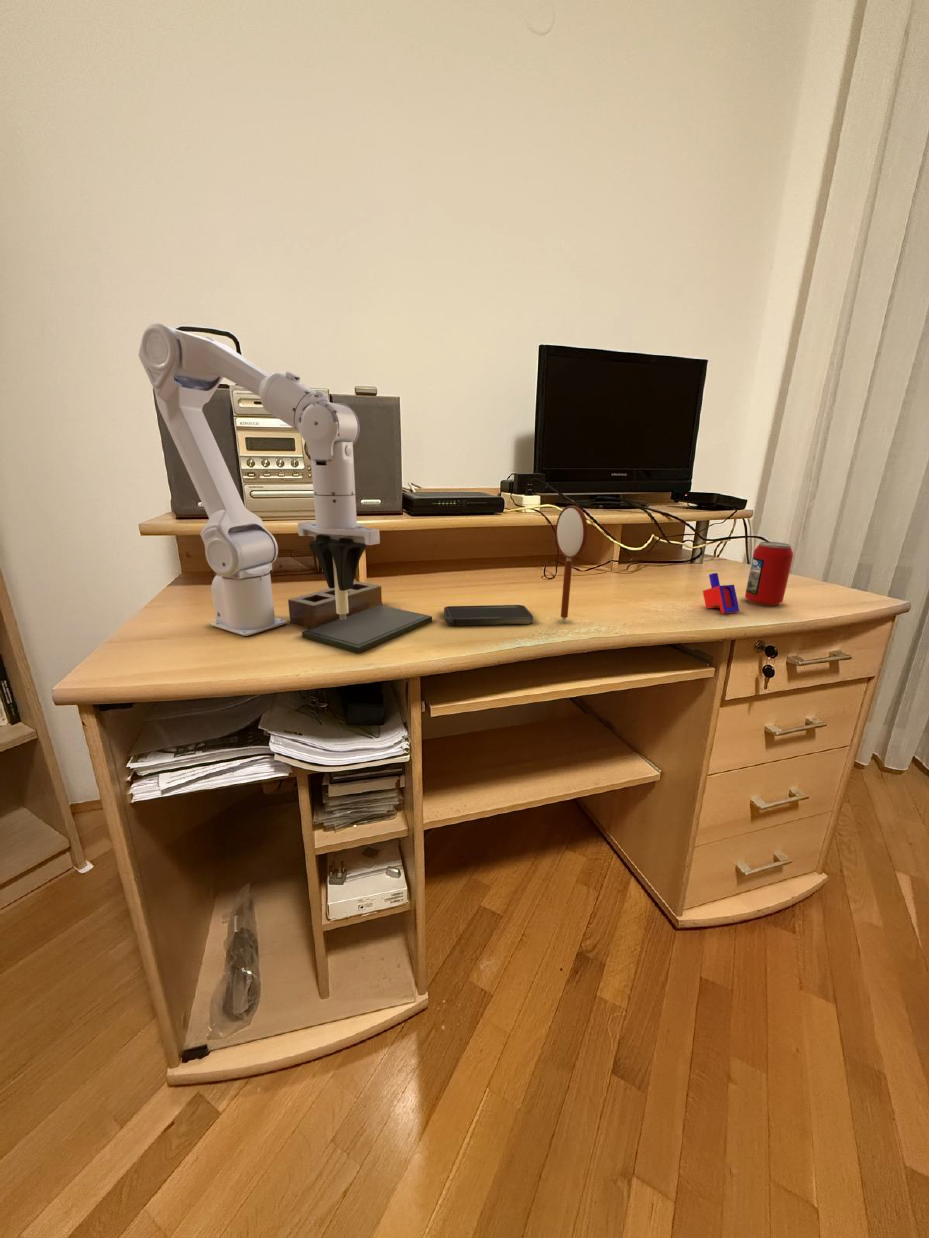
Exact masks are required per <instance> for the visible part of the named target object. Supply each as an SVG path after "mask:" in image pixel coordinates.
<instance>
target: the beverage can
mask: <svg viewBox="0 0 929 1238" xmlns="http://www.w3.org/2000/svg"><path fill="white" fill-rule="evenodd" d="M793 558H794V552H793V549H792V545H791V544H790V543H786V542H785V543H784V542H777V541H760V542H759V544H758V545H757V546H756V548H755V549H754V550H753V554H752V559H751V563H750V568H749V574H748V578H747V583H746V589H745V594H744V598H746V599H747V600H748V601H749V603H753V604H754V605H760V606H767V607H768V606H771V607H773V606H776V605H779V604H781V603H783V601H784V597H785V594H786V589H787V586H788V581H789V578H790V577H789V576H790V572H791V568H792V564H793Z"/></svg>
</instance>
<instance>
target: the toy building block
mask: <svg viewBox="0 0 929 1238" xmlns="http://www.w3.org/2000/svg"><path fill="white" fill-rule="evenodd" d="M708 577H709V583H710V587H711V588H708V589H703V590H702V594H703V599H704V600H703V601H704V605H705V608H706V609H711V608H712V609H713V608H719V610H720V614H721V615H723V614H732V613H733V614H734V613H739V612H740V607H739V602H738V599H737V598H738V597H737V592H736V587H735V584H725V585H724V584H723V585H721V583H720V579H719V578H720V577H719V574H718V573H717V572H714V573H709V574H708Z"/></svg>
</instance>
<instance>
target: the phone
mask: <svg viewBox="0 0 929 1238" xmlns="http://www.w3.org/2000/svg"><path fill="white" fill-rule="evenodd" d="M443 615H444V620H445V623H446V625H448V626H494V625H530V624H533V621H534V620H533V619H534V616H533V614H532V612H530V611H529V610H528V608H527V607H526V606H525V605H522V604H499V605H498V604H496V605H495V604H493V605H491V604H490V605H448V606H444V607H443Z"/></svg>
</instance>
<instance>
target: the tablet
mask: <svg viewBox="0 0 929 1238" xmlns="http://www.w3.org/2000/svg"><path fill="white" fill-rule="evenodd" d="M432 622H433V616H432V615H429V614H424V613H418V612H415V611H409V610H405V609H401V608H396V607H393V606H387V605H383V604H382V605H378V606H375V607H372V608H369V609H366V610H363V611H360V612H357V613H354V614H352V615H349V616H346V619H345V620H340V619H337V620H334V621H331V622H328V623H325V624H322V625H320V626H317V627H314V628H311V627H310V628H308V629H305V630H302V631H301V638H303V639H306V640H310V641H313V642H317V643H320V644H324V645H326V646H327V645H328V646H330V647H334V648H337V649H340V650H343V651H347V652H351V653H354V654H358V655H360V654H362V653H364V652H366V651H369V650H371V649H374V648H376V647H378V646H380V645H383V644H385V643H386V642H387V643H388V642H389V641H391V640H394V639H397V638H398V637H401V636H403V635H405V634H407V633H410V632H412V631H414V630H417V629H418V628H421V627H423V626H426V625H428V624H430V623H432Z"/></svg>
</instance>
